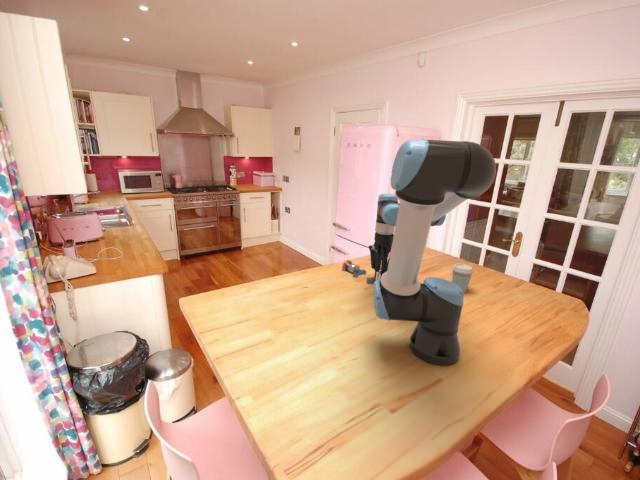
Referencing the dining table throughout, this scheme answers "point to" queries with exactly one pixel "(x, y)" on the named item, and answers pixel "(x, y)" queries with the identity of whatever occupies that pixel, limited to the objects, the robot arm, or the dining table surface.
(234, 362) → the dining table surface
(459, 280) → the coffee cup
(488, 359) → the dining table surface
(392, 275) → the robot arm
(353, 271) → the pipe fitting
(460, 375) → the dining table surface
